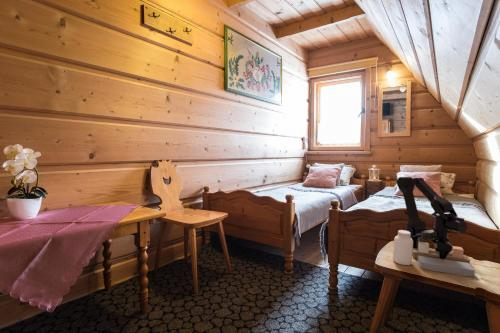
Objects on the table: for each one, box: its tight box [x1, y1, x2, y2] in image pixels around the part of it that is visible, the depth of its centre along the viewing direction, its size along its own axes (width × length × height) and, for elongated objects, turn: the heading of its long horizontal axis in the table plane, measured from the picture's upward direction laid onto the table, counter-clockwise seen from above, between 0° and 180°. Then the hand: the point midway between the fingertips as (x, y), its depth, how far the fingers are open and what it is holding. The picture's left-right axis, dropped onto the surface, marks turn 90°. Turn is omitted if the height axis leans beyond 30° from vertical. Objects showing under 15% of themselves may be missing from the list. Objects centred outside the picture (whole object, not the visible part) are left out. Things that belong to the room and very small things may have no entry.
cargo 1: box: [418, 241, 430, 253], centre depth 141 cm, size 4×4×4 cm
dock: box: [417, 256, 475, 278], centre depth 129 cm, size 8×20×3 cm, turn 67°
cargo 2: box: [450, 245, 465, 258], centre depth 136 cm, size 4×4×4 cm
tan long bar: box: [412, 248, 471, 265], centre depth 139 cm, size 6×23×4 cm, turn 67°
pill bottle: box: [392, 229, 413, 266], centre depth 135 cm, size 8×8×15 cm
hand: (439, 257), depth 139 cm, fingers open, 9 cm apart
